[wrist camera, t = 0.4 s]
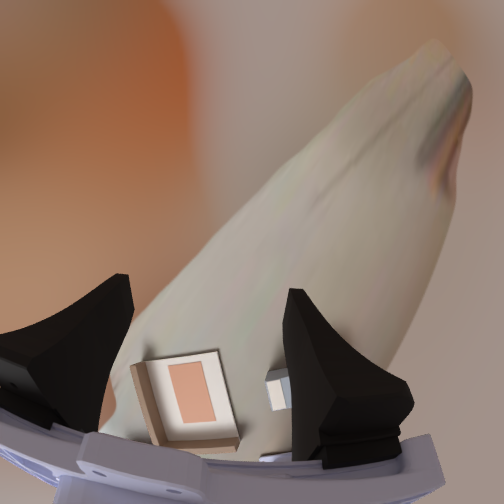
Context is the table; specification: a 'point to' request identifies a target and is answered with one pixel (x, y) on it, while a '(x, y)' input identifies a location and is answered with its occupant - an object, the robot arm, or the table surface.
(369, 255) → the table surface
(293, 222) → the table surface
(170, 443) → the tray
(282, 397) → the slate block
